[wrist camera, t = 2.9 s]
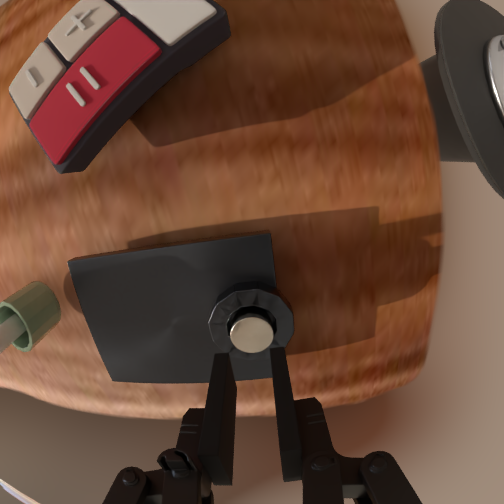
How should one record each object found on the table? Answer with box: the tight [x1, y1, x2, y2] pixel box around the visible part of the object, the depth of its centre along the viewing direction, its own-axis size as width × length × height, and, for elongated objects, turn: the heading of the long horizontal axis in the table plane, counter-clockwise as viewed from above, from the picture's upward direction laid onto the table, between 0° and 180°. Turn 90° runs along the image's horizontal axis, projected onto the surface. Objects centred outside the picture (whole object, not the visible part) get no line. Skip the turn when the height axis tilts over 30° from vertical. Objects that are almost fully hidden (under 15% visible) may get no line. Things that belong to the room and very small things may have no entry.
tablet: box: [67, 230, 294, 383], centre depth 20 cm, size 17×12×2 cm
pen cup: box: [0, 281, 61, 352], centre depth 18 cm, size 5×5×5 cm
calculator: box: [9, 0, 231, 174], centre depth 13 cm, size 11×4×15 cm
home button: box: [230, 308, 274, 353], centre depth 18 cm, size 3×3×1 cm
